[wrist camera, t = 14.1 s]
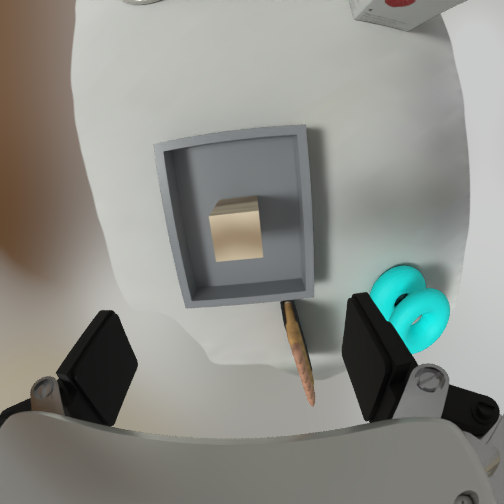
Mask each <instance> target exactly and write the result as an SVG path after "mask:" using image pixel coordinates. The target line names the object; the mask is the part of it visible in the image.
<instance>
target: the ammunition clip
mask: <svg viewBox="0 0 504 504" xmlns="http://www.w3.org/2000/svg"><path fill="white" fill-rule="evenodd" d="M280 303H281V309H282V315H283V321H284V326H285V329H286V332H287V337H288V341H289V343H290V346H291V350H292V353H293V356H294V359H295V362H296V365H297V368H298V372H299V375H300V377H301V381H302V384H303V386H304V390H305V393H306V396H307V399H308V401H309V403H310V405H311V406H314V404H315V392H314V380H313V375H312V367H311V363H310V358H309V354H308V350H307V346H306V343H305V339H304V336H303V332H302V329H301V325H300V321H299V318H298V315H297V311H296V308H295V304H294V301H293V300H285V301H282V302H280Z"/></svg>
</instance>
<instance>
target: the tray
mask: <svg viewBox="0 0 504 504" xmlns="http://www.w3.org/2000/svg"><path fill="white" fill-rule="evenodd" d="M153 145H154V152H155V160H156V166H157V173H158V179H159V186H160V192H161V197H162V203H163V209H164V214H165V219H166V224H167V230H168V234H169V239H170V244H171V249H172V253H173V258H174V262H175V267H176V271H177V275H178V279H179V284H180V288H181V292H182V296H183V299H184V303H185V307H186V308H200V307H216V306H229V305H242V304H253V303H264V302H275V301H284V300H294V299H303V298H311V297H314V246H313V218H312V198H311V182H310V168H309V156H308V144H307V134H306V125H289V126H274V127H262V128H251V129H242V130H234V131H226V132H218V133H212V134H205V135H199V136H193V137H187V138H182V139H177V140H171V141H167V142H162V143H157V144H153ZM247 196H257V199H258V208H259V218H260V228H261V238H262V249H263V257H262V258H252V259H241V260H231V261H220V262H216V258H215V252H214V246H213V240H212V234H211V227H210V221H209V215H210V214H211V212H212V210H213V209H214V207H215V205H216V204H217V202H218V201H219V200H221V199H229V198H238V197H247Z"/></svg>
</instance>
